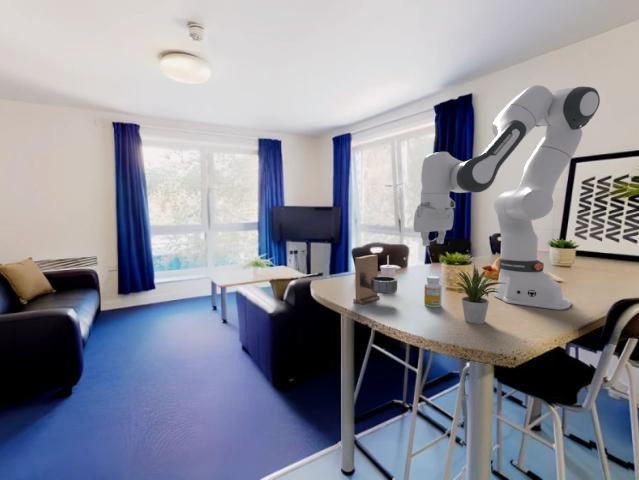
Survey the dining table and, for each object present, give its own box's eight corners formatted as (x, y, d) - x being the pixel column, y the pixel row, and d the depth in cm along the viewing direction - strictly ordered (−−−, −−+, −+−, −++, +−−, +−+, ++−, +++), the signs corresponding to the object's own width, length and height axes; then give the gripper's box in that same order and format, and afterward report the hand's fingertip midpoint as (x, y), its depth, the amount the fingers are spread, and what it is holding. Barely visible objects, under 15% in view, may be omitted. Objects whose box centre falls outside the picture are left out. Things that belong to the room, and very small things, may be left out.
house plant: (475, 334, 82) (477, 272, 81) (436, 318, 95) (437, 264, 94) (512, 325, 88) (515, 267, 87) (471, 311, 101) (472, 260, 99)
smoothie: (395, 287, 132) (395, 254, 131) (397, 291, 126) (397, 256, 125) (379, 287, 133) (379, 254, 132) (380, 291, 127) (380, 256, 125)
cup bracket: (403, 304, 110) (403, 258, 108) (385, 310, 103) (386, 261, 101) (371, 296, 120) (371, 254, 118) (353, 302, 113) (353, 257, 111)
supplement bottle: (429, 302, 112) (429, 274, 111) (444, 305, 108) (444, 276, 107) (421, 305, 108) (421, 277, 107) (436, 308, 104) (437, 279, 103)
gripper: (427, 202, 95) (426, 248, 97) (457, 203, 109) (456, 243, 111) (409, 202, 100) (407, 246, 101) (440, 203, 114) (438, 241, 115)
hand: (433, 244), depth 106 cm, fingers open, 8 cm apart
